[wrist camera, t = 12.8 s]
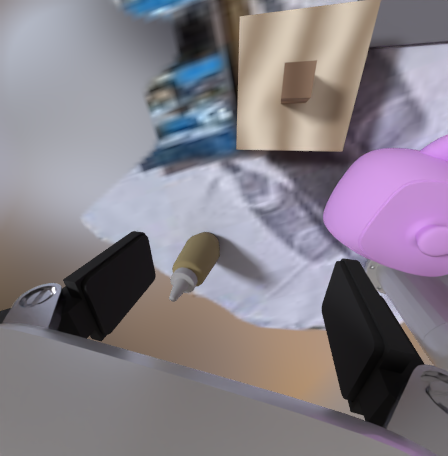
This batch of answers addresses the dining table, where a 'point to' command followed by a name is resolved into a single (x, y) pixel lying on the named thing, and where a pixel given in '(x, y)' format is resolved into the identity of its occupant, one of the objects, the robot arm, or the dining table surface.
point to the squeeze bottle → (194, 263)
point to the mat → (410, 23)
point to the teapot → (395, 208)
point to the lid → (301, 75)
